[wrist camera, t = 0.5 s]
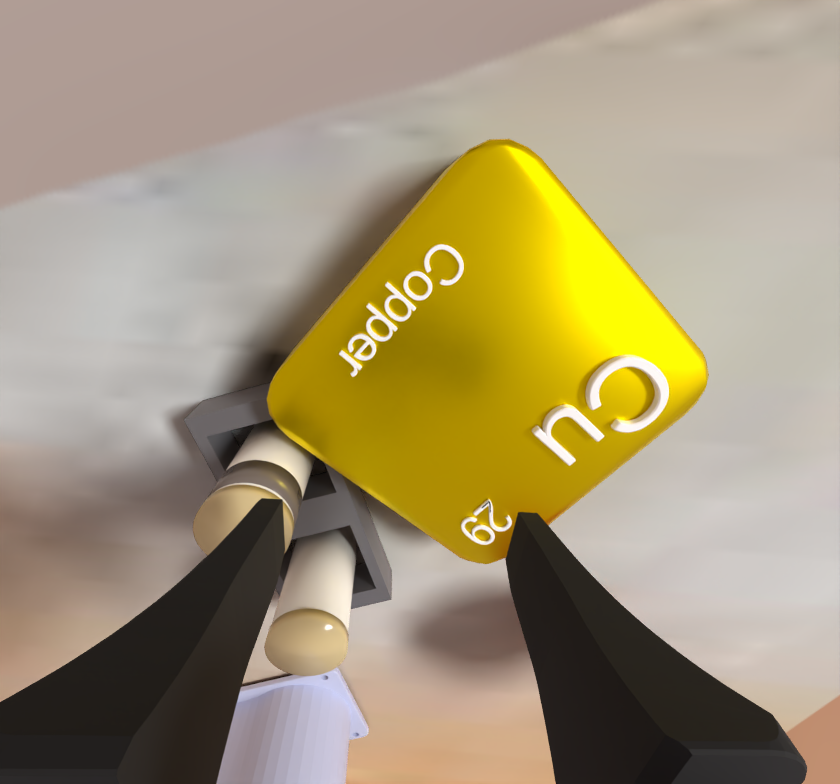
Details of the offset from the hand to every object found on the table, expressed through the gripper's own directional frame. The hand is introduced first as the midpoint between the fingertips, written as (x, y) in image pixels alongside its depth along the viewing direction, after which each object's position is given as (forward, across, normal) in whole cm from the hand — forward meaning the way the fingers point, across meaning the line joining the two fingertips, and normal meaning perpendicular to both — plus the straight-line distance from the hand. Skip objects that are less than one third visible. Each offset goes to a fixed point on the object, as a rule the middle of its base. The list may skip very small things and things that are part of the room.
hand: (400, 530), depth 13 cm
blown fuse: (+10, +6, +4) cm, 12 cm away
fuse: (+10, +4, +10) cm, 14 cm away
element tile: (+11, -4, -1) cm, 12 cm away
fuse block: (+10, +5, +7) cm, 13 cm away
